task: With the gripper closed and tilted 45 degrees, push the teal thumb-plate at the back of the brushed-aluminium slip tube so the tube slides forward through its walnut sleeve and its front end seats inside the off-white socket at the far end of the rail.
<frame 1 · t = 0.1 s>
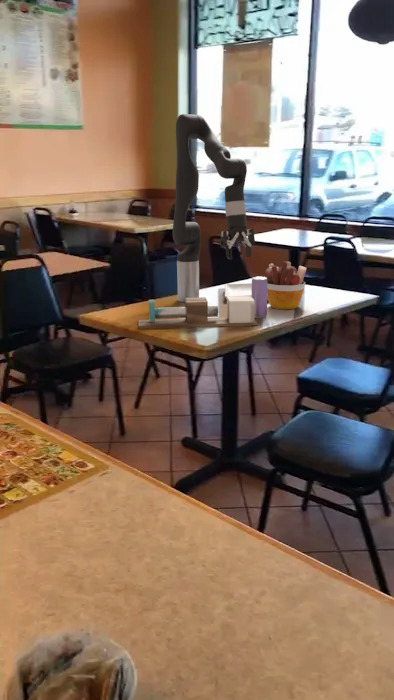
hand: (239, 258, 239), 22 cm above the table, tool pointing down, fingers open, 8 cm apart
bucket of meat: (284, 307, 260), on the table
square plate: (255, 297, 281), on the table
beverage can: (258, 317, 245), on the table
rail board: (197, 323, 234), on the table
slip tube: (183, 309, 232), point 5 cm above the table, slide at 0.0 cm
socket: (240, 322, 235), resting on rail board
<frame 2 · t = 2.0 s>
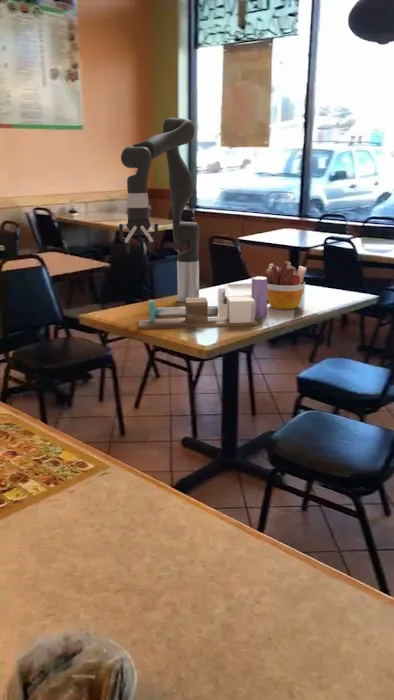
hand: (139, 252, 229), 26 cm above the table, tool pointing down, fingers open, 7 cm apart
nothing on the table moved.
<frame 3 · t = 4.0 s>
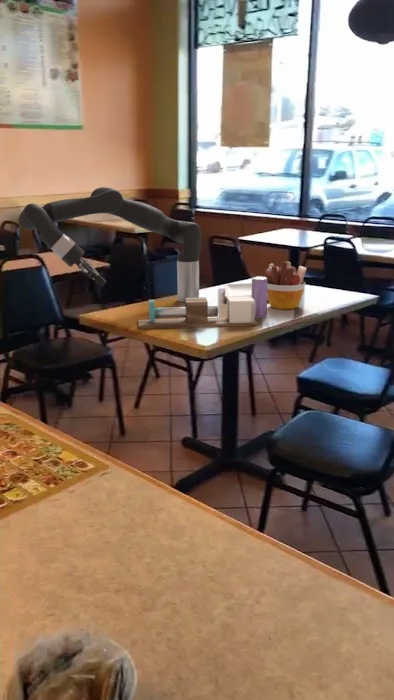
hand: (104, 284, 227), 16 cm above the table, tool tilted 45°, fingers closed
nothing on the table moved.
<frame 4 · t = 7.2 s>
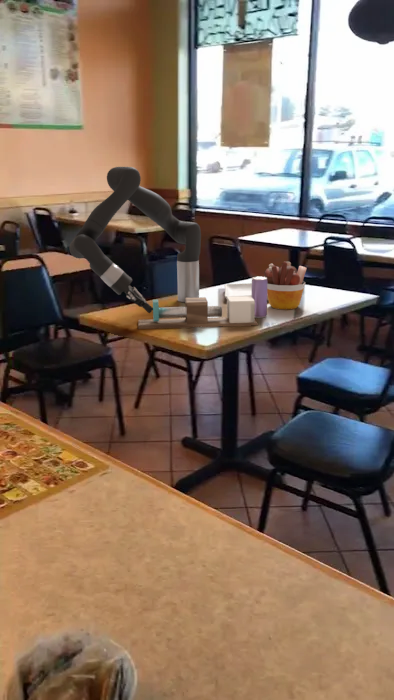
hand: (151, 311, 232), 5 cm above the table, tool tilted 45°, fingers closed
slip tube: (187, 309, 232), point 5 cm above the table, slide at 1.4 cm, touching gripper
everything else where it was.
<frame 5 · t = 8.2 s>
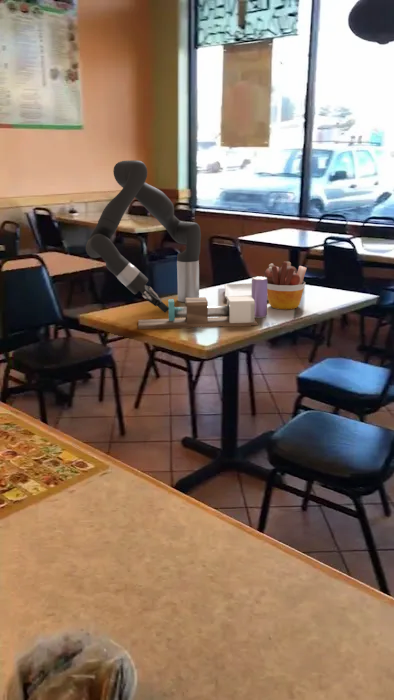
hand: (167, 310, 232), 5 cm above the table, tool tilted 45°, fingers closed
slip tube: (202, 309, 233), point 5 cm above the table, slide at 7.1 cm, touching gripper
everything else where it was.
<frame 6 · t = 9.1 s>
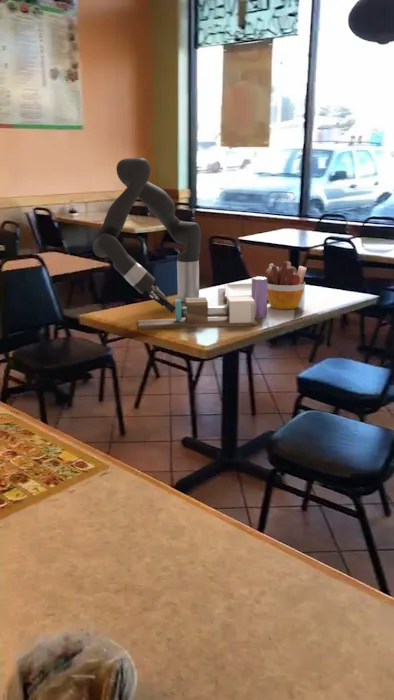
hand: (173, 310, 232), 5 cm above the table, tool tilted 45°, fingers closed
slip tube: (209, 308, 233), point 5 cm above the table, slide at 9.6 cm, touching gripper
everything else where it was.
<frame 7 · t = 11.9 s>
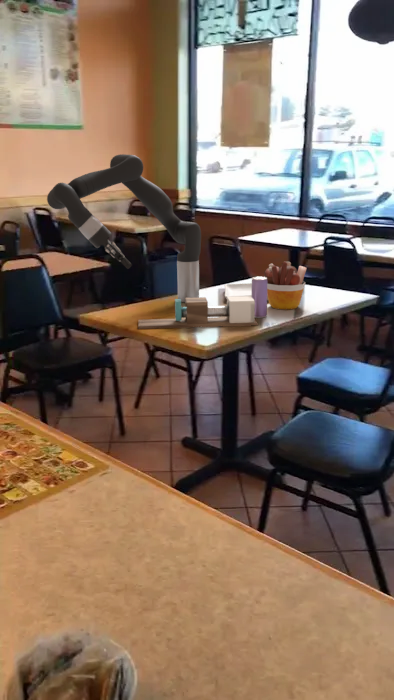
hand: (129, 266, 227), 21 cm above the table, tool tilted 40°, fingers closed
slip tube: (209, 308, 233), point 5 cm above the table, slide at 9.6 cm
everything else where it was.
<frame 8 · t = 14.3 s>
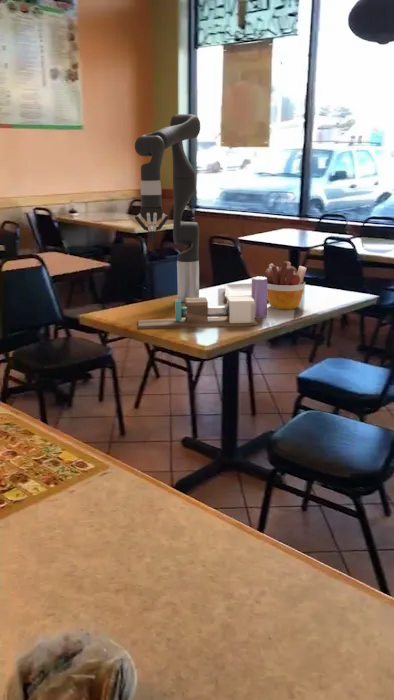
hand: (152, 241, 236), 29 cm above the table, tool pointing down, fingers closed
nothing on the table moved.
at the end: slip tube slide at 9.6 cm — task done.
